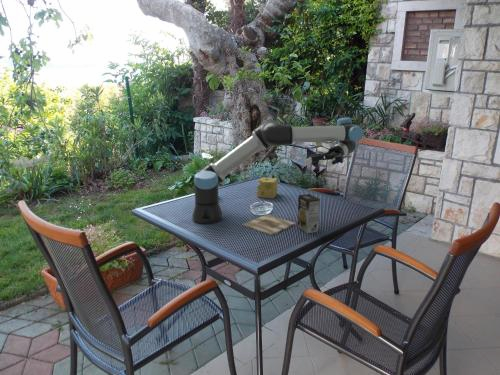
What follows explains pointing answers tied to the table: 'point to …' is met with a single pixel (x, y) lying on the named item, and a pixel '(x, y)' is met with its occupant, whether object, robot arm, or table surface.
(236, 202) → the table surface
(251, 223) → the board
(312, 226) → the coffee box
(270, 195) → the cheese
